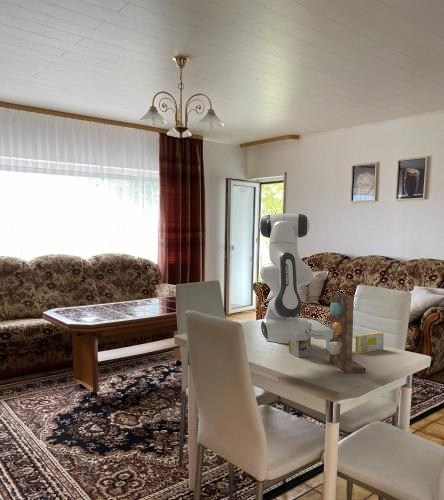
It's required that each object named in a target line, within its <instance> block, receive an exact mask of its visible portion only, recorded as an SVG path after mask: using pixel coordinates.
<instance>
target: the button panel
mask: <svg viewBox="0 0 444 500" xmlns="http://www.w3.org/2000/svg"><path fill="white" fill-rule="evenodd" d="M331 303H342V305H343V313H342V315H332V314H331V313H330V325H329V326H332V324H333V323H334V322H341V323H342V335H334V334H333V339H330V342H341V354H334V355H331V354H330V353H329V357H328V359H329V361H328V362H329V363H331V364H332V365H333V366H335V367H336V368H338V369H339V370H341V371H342V372H343V373H344V374H346V375H354V374H355V375H356V374H367V373H366V372H367V370H366V367H365V366H363V365H361V364H360V363H358V362H357V361H355V360H354V359H353V338H354V336H353V335H354V332H353V331H354V308H355V306H354V304H355V297H354V296H352V295H348V294H346V293H343V292H339V291H335V290H333V291H331V301H330V304H331Z"/></svg>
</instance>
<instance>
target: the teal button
mask: <svg viewBox="0 0 444 500" xmlns="http://www.w3.org/2000/svg"><path fill="white" fill-rule="evenodd" d="M329 312H330V315H331V314H332V315H342V313H343V303H331V302H330V305H329Z"/></svg>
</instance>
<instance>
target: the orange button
mask: <svg viewBox="0 0 444 500" xmlns="http://www.w3.org/2000/svg"><path fill="white" fill-rule="evenodd" d="M332 326H333V327H335V328H336V331H335V332H333V334H334V335H342V323H341V322H334V323H333V324H332Z"/></svg>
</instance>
